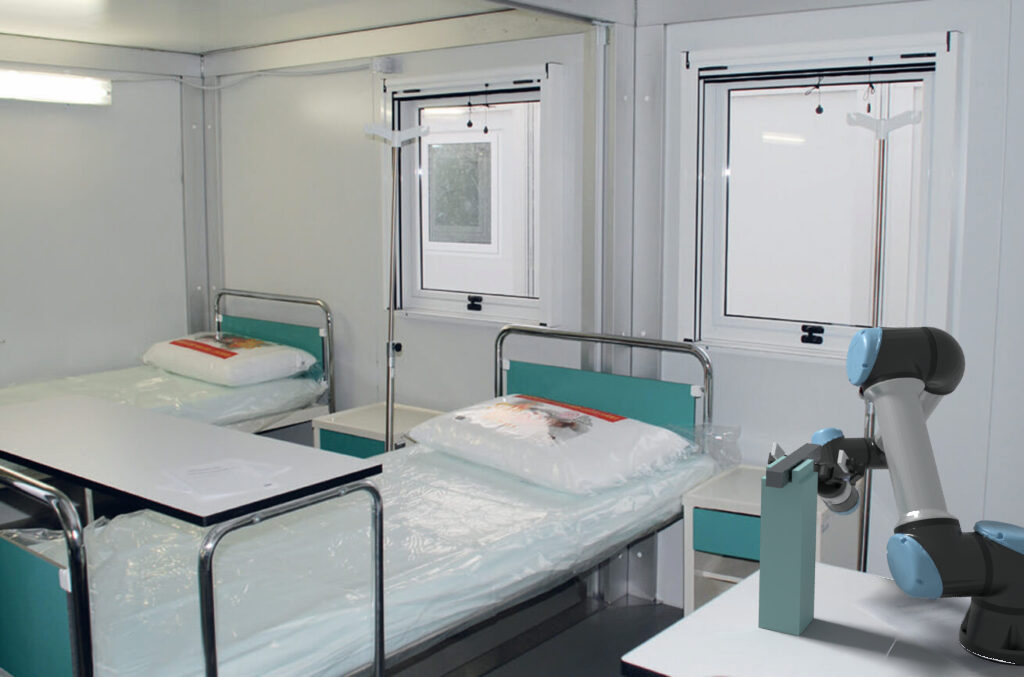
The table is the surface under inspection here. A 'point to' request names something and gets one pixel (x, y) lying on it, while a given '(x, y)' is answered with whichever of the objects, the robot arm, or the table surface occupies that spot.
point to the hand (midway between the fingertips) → (806, 452)
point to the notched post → (788, 551)
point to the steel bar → (791, 465)
